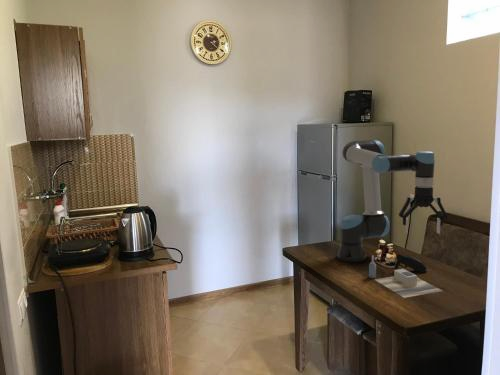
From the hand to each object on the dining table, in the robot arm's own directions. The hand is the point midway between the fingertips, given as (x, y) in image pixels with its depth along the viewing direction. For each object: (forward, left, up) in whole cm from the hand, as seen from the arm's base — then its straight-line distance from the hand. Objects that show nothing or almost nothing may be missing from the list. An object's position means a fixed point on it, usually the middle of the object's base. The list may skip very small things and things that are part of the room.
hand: (422, 232), depth 185 cm
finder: (-3, -6, -24) cm, 24 cm away
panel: (+1, -8, -24) cm, 25 cm away
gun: (-13, +5, -25) cm, 28 cm away
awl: (-13, -17, -24) cm, 32 cm away
